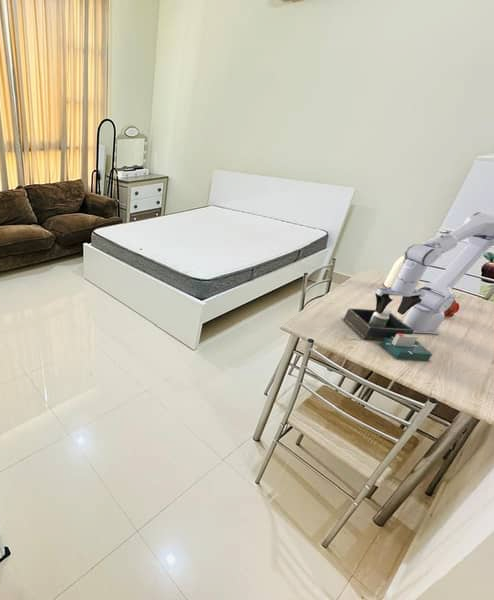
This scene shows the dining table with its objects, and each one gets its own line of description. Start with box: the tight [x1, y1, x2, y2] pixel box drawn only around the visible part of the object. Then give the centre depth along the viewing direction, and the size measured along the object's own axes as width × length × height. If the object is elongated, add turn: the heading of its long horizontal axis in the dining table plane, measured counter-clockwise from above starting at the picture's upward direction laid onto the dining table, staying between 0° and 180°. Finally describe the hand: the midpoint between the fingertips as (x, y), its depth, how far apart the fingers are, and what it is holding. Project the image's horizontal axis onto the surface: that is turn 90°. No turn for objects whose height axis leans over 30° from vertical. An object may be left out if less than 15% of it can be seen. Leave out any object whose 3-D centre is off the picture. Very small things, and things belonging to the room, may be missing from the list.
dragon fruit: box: [444, 299, 460, 318], centre depth 131 cm, size 8×8×12 cm
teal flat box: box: [380, 336, 433, 362], centre depth 110 cm, size 12×10×3 cm
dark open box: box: [343, 307, 414, 342], centre depth 121 cm, size 15×14×5 cm
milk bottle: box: [383, 246, 410, 288], centre depth 149 cm, size 8×8×20 cm
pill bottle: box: [368, 308, 392, 328], centre depth 120 cm, size 5×5×8 cm
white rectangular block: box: [392, 333, 418, 347], centre depth 109 cm, size 6×2×4 cm, turn 84°
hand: (389, 312), depth 116 cm, fingers open, 7 cm apart
